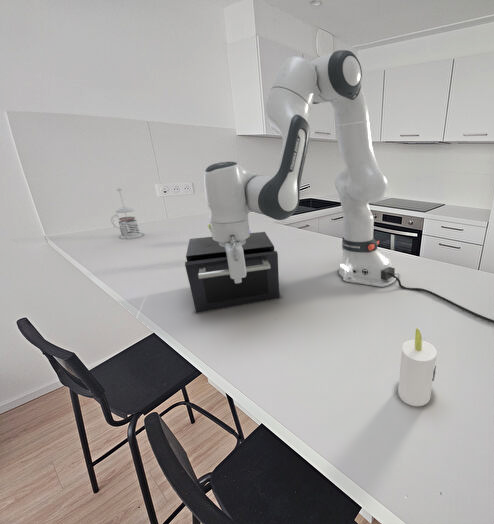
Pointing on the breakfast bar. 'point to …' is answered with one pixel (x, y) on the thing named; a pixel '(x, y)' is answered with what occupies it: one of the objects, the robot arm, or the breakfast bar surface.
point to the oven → (212, 249)
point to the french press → (127, 223)
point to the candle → (417, 371)
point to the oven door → (225, 289)
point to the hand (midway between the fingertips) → (238, 281)
